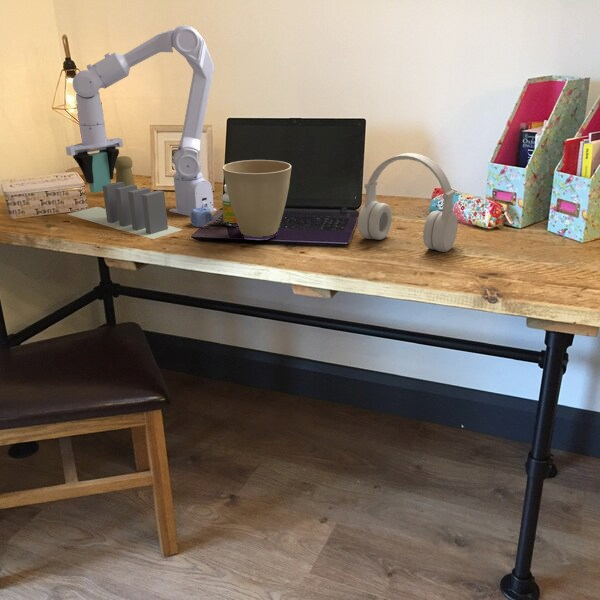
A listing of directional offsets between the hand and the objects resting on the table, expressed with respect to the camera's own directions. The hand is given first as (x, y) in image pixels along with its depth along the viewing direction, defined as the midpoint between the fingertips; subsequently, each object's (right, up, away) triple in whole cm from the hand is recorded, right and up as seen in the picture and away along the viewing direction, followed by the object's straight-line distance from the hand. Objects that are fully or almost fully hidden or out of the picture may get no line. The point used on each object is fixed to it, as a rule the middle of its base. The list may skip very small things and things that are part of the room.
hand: (99, 180), depth 162 cm
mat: (+6, -10, -1) cm, 12 cm away
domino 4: (+12, -12, -6) cm, 18 cm away
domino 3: (+8, -11, -3) cm, 14 cm away
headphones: (+72, -17, -20) cm, 77 cm away
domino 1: (0, -2, +1) cm, 2 cm away
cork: (0, 0, +24) cm, 24 cm away
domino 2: (+4, -10, 0) cm, 11 cm away
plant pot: (+40, -15, -13) cm, 45 cm away
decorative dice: (+26, -12, -4) cm, 29 cm away
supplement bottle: (+34, -12, -4) cm, 36 cm away
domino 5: (+16, -13, -9) cm, 22 cm away
